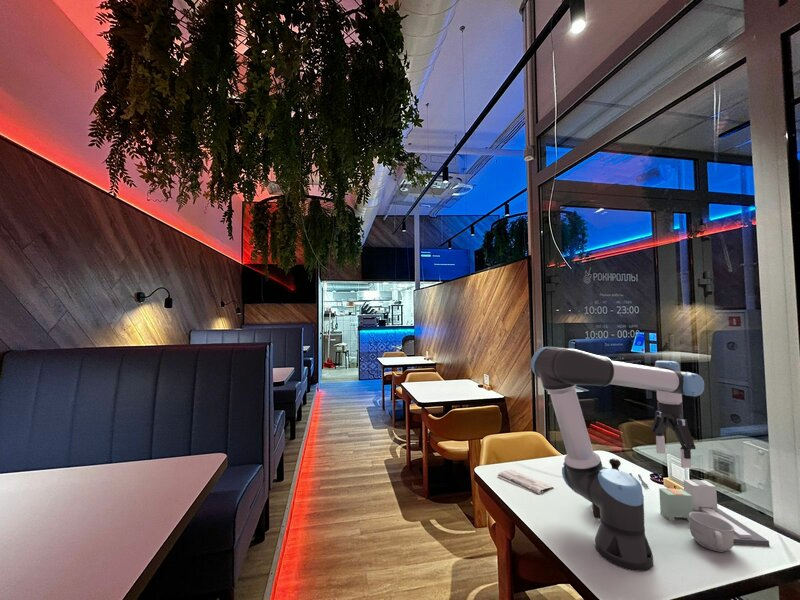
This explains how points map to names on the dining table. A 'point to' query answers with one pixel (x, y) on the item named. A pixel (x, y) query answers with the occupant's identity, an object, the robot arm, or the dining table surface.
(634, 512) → the robot arm
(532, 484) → the newspaper
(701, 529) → the teacup
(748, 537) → the stepped base plate
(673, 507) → the block
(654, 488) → the dining table surface
